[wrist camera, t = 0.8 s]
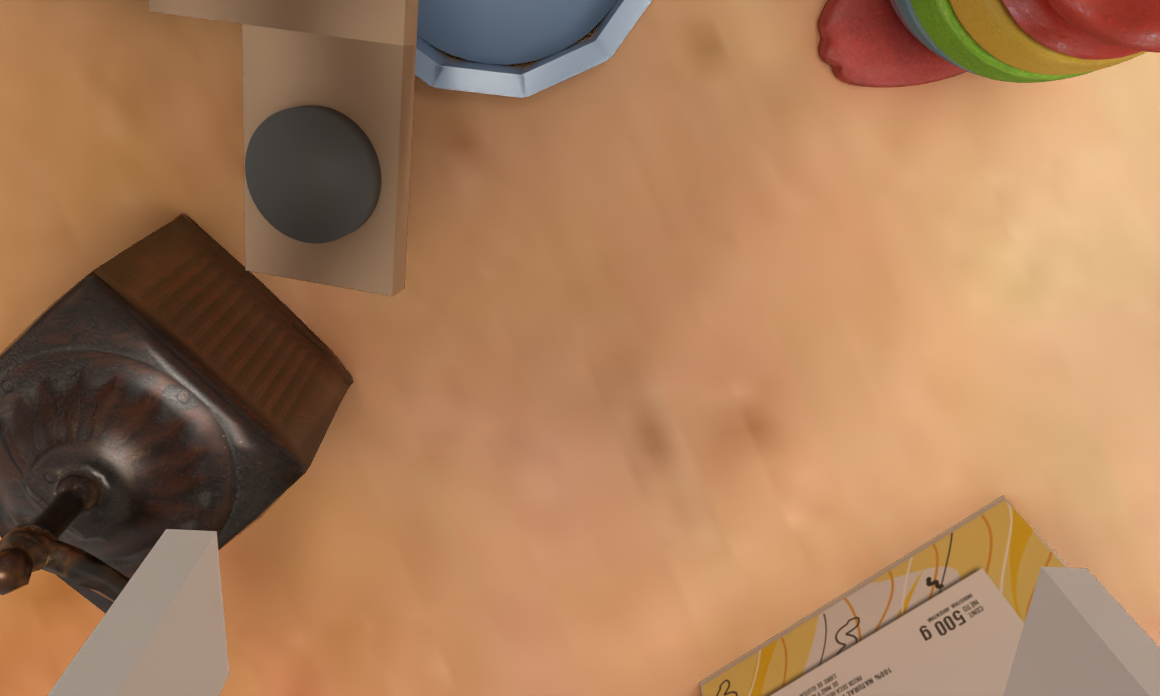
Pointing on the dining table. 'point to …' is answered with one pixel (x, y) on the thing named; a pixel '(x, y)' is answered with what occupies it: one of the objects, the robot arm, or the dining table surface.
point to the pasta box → (911, 622)
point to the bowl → (517, 41)
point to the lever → (324, 135)
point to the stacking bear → (982, 38)
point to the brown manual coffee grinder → (153, 412)
